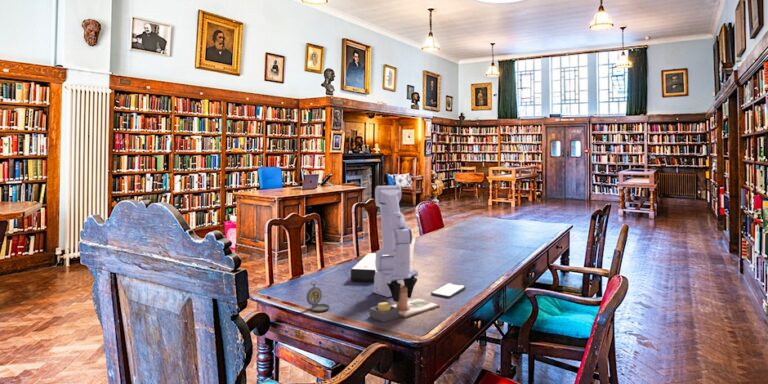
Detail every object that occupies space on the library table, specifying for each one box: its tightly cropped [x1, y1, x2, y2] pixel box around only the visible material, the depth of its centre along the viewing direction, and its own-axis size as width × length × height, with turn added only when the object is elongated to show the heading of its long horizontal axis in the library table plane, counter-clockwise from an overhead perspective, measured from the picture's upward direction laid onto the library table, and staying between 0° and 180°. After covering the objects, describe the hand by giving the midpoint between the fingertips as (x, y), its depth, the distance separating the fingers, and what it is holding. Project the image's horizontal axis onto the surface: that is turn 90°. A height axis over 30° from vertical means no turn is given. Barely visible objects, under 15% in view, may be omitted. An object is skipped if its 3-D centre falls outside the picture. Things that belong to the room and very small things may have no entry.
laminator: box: [350, 252, 390, 283], centre depth 215 cm, size 34×12×6 cm, turn 169°
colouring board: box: [391, 297, 440, 319], centre depth 164 cm, size 12×18×1 cm, turn 131°
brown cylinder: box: [395, 284, 408, 311], centre depth 161 cm, size 4×4×8 cm
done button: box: [377, 301, 391, 312], centre depth 155 cm, size 4×4×3 cm
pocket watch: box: [305, 280, 330, 312], centre depth 164 cm, size 8×8×10 cm
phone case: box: [430, 282, 467, 299], centre depth 184 cm, size 9×2×16 cm
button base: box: [369, 305, 400, 323], centre depth 155 cm, size 7×7×3 cm
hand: (402, 299), depth 161 cm, fingers open, 6 cm apart
